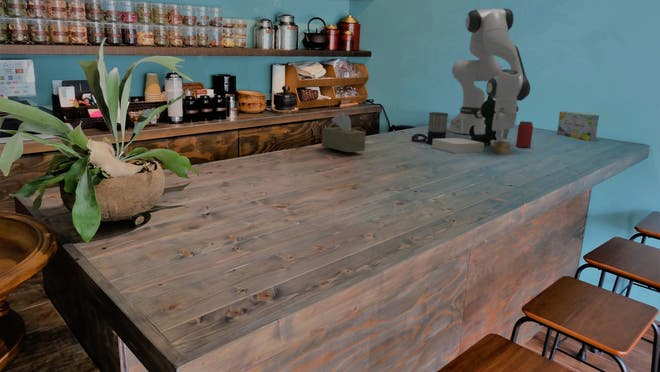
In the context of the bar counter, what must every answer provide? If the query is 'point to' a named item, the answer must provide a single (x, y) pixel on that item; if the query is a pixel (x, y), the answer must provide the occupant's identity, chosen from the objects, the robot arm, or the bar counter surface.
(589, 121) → the snack box
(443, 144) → the cream base
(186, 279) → the bar counter surface
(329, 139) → the tissue box
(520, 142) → the beer can
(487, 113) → the toy figurine
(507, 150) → the block
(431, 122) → the milk frother
